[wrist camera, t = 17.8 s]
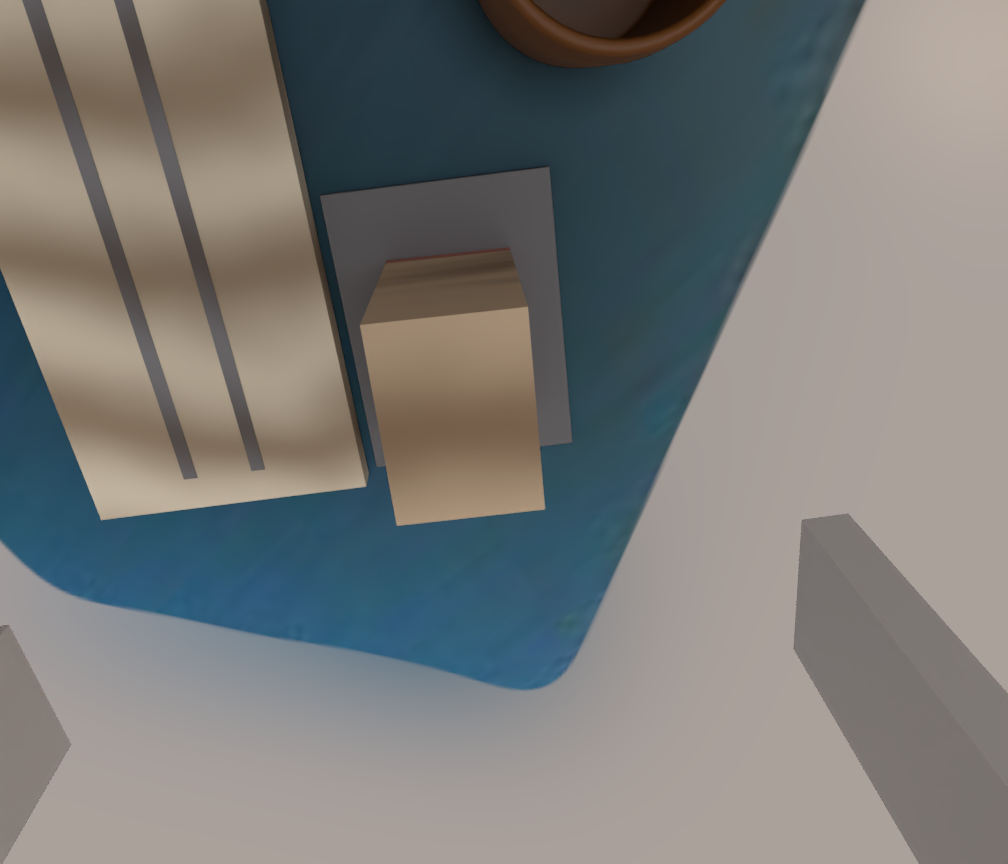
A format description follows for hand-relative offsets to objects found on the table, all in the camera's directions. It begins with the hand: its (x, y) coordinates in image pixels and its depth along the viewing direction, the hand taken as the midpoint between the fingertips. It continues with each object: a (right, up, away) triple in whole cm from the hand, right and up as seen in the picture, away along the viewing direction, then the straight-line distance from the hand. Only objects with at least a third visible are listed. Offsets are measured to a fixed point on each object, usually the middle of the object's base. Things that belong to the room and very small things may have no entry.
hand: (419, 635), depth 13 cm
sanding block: (-1, +7, +19) cm, 21 cm away
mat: (-1, +8, +19) cm, 21 cm away
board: (-12, +11, +17) cm, 24 cm away
